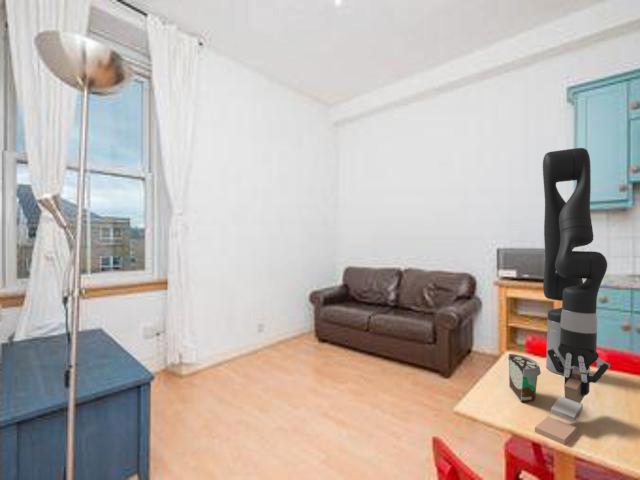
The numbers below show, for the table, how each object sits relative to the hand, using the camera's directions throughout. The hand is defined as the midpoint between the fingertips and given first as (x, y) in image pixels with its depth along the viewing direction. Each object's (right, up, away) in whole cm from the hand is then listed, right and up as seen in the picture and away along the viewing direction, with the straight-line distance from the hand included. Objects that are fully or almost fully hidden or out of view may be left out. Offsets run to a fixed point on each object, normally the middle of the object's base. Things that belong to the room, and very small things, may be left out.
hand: (576, 392), depth 88 cm
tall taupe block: (-2, -2, -2) cm, 3 cm away
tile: (-7, -6, -5) cm, 11 cm away
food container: (-7, -6, +10) cm, 13 cm away
